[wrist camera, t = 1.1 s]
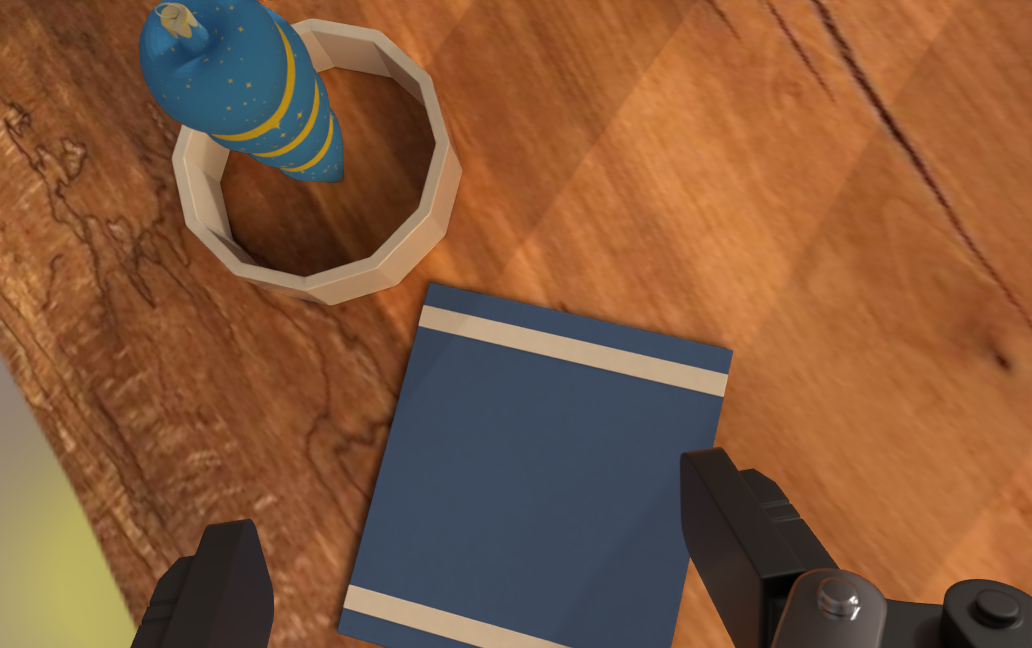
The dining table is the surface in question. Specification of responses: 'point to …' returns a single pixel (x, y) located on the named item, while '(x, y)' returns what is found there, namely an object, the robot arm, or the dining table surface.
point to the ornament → (243, 84)
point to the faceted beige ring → (403, 250)
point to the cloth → (533, 482)
